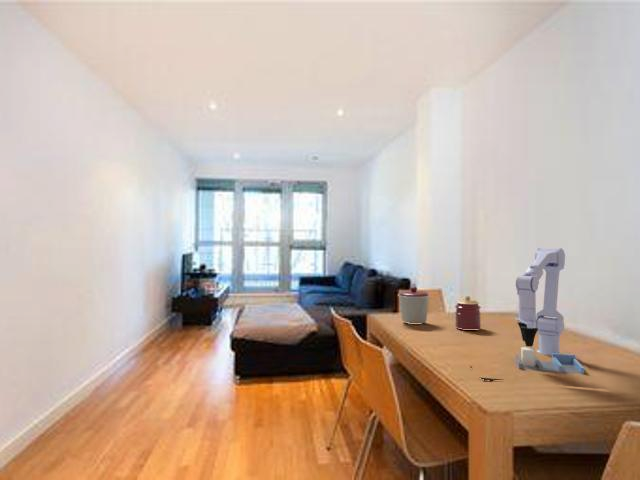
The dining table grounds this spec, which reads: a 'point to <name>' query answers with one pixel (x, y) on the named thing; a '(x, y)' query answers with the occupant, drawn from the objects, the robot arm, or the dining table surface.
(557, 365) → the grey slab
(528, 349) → the block
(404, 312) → the canister
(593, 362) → the dining table surface
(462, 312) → the canister
